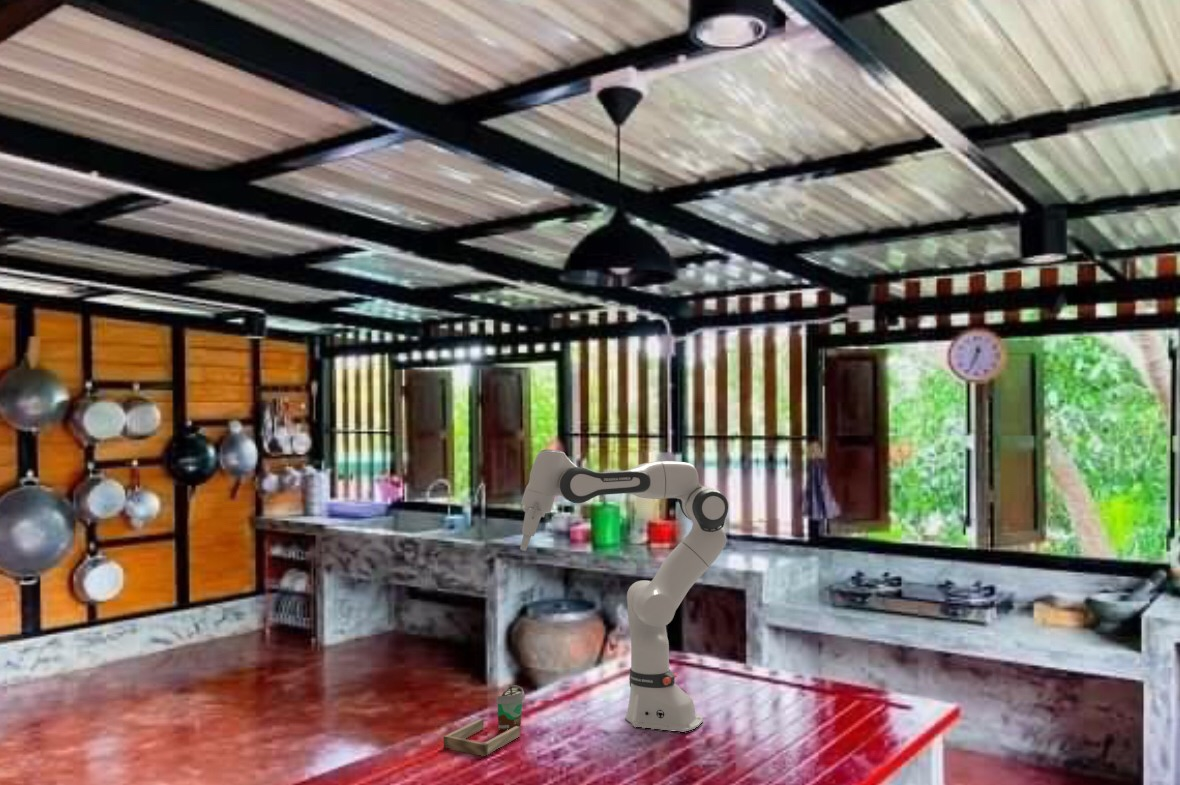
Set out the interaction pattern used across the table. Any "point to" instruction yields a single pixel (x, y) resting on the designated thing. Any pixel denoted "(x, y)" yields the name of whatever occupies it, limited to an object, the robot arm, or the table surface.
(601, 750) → the table surface
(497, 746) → the wooden u-shaped frame
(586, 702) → the table surface
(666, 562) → the robot arm
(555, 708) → the table surface
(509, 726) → the food container
